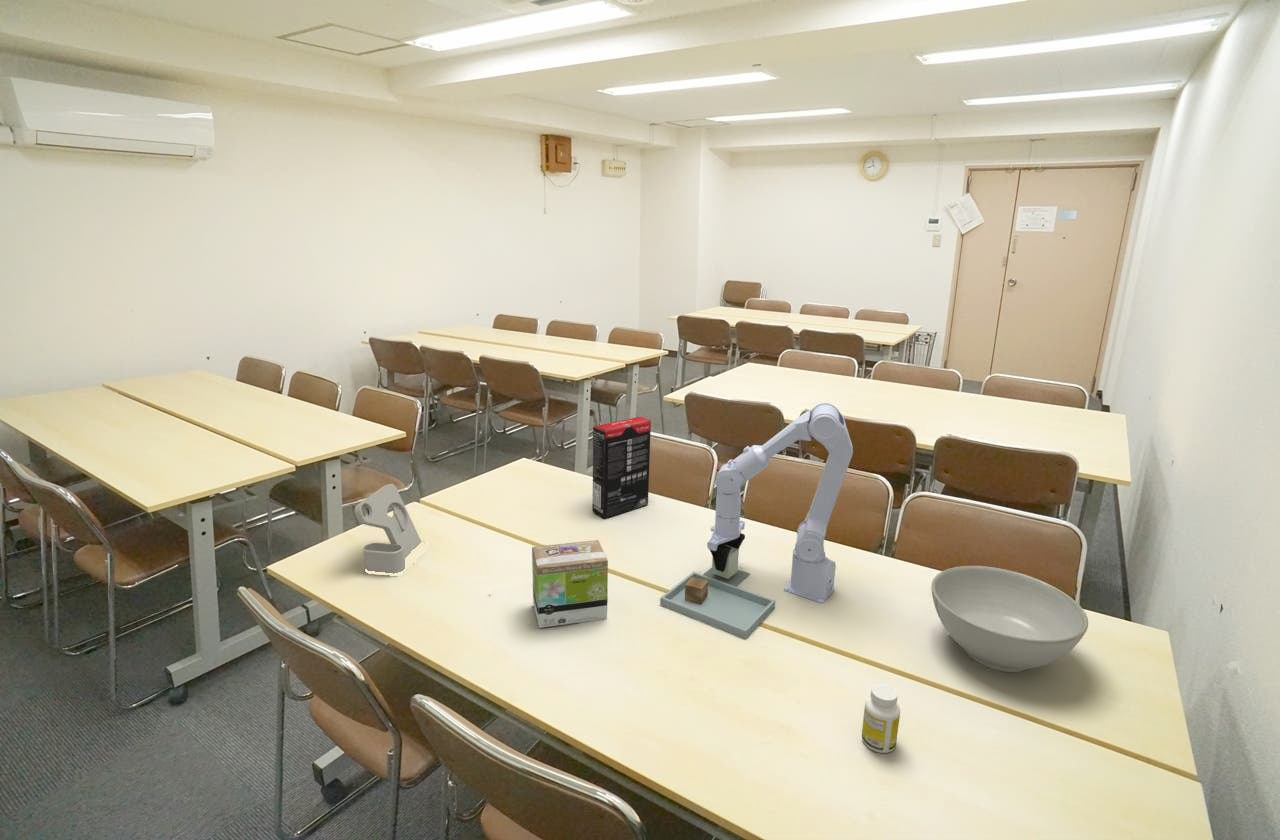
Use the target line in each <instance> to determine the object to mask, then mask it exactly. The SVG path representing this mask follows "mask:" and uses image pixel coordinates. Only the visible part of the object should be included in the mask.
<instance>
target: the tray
mask: <svg viewBox="0 0 1280 840" xmlns="http://www.w3.org/2000/svg"><path fill="white" fill-rule="evenodd" d="M691 577H696V578H700V579H704V580H708V596H707V598H706V599H705V600H704V602H703V603H702V605H700V604H696V603H693V602H689V601H685V584H686V583H687V582H688V581H689V579H690V578H691ZM659 600H660V601H659V606H661V607H664V608H666V609H669V610H672V611H674V612H677V613H679V614H682V615H684V616H687V617H689V618H692V619H694V620H696V621H699V622H702V623H704V624H706V625H709V626H711V627H715V628H716V629H719V630H722V631H724V632H727V633H730V634H731V635H734V636H737V637H739V638H741V639H745V640H747V639H748V637H750V635H751V634H752V633H753V632H754V631H755V630H756V628H757V627H759V626H760V625H761V624H762V622H763V621H764V620H766V618H767V617H768V616H769V615H770V614H772V611H774V610H775V609H776V600H775V599H772V598H768V597H767V596H763V595H761V594H758V593H755V592H752V591H749V590H746V589H744V588H741V587H738V586H737V587H735V586H733V585H730V584H727V583H724V582H721V581H718V580H716V579H713V578H710V577H707V576H704V575H703V574H701V573H698V572H695V571H693V572H691V573H690V574H688V575H687V576H686V577H685V578H683V580H681V581H680V582H678V583H677V584H676V585H675V586H673V587H672V588H671V589H670V590H668V591H666V592H665V593H664V594H663V595H662V596H661V597H659Z"/></svg>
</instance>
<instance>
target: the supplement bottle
mask: <svg viewBox="0 0 1280 840" xmlns="http://www.w3.org/2000/svg"><path fill="white" fill-rule="evenodd" d="M870 690H871V691H870V695H869V696H868V697H867V698H866V700H865V702H864V703H865V704H864V711H863V718H862V719H863V720H862V726H861V727H862V728H861V739H862V742H863V744H864V745H865V746H866V747H867V748H868V749H870V750H871V751H873V752H877V753H880V754H887V753H890V752H892V751H895V749H896V746H897V740H898V732H899V726H900V724H899V723H900V717H901V708H900V706H899V704H898V692H897V690H896V689H895V688H894V687H892V686H890V685H889V684H885V683H876V684H874V685H872V686H871V689H870Z"/></svg>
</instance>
